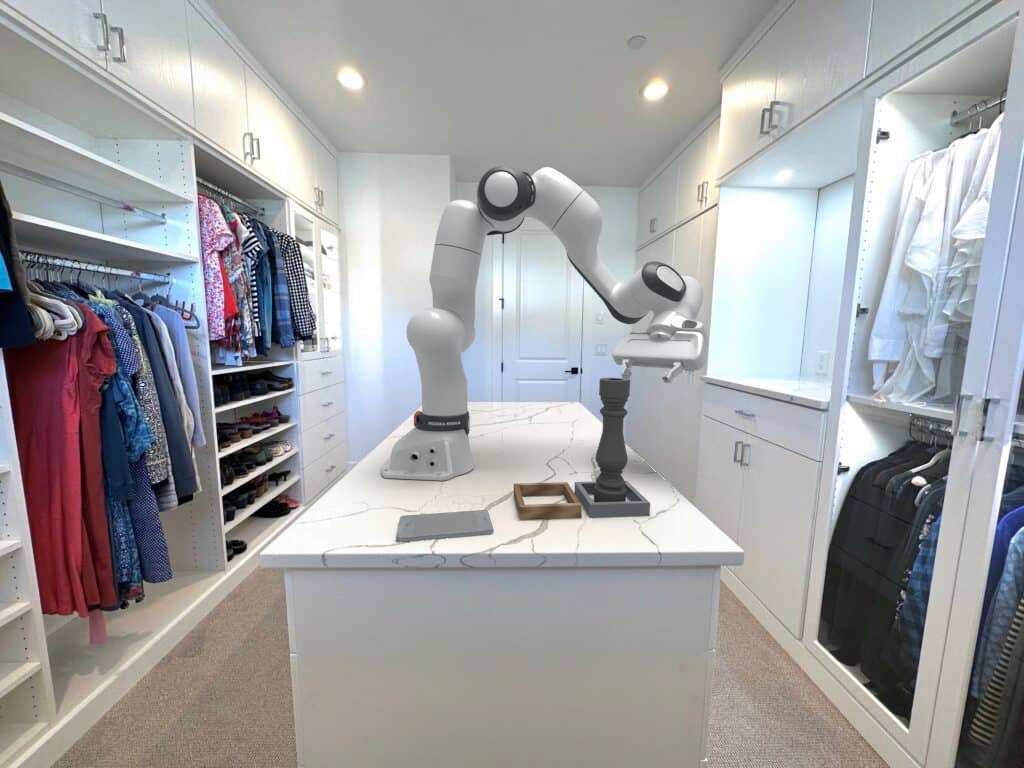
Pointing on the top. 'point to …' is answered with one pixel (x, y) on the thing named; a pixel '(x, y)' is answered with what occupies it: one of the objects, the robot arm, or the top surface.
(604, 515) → the charcoal frame
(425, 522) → the phone
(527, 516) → the walnut frame
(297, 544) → the top surface
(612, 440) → the candle holder
